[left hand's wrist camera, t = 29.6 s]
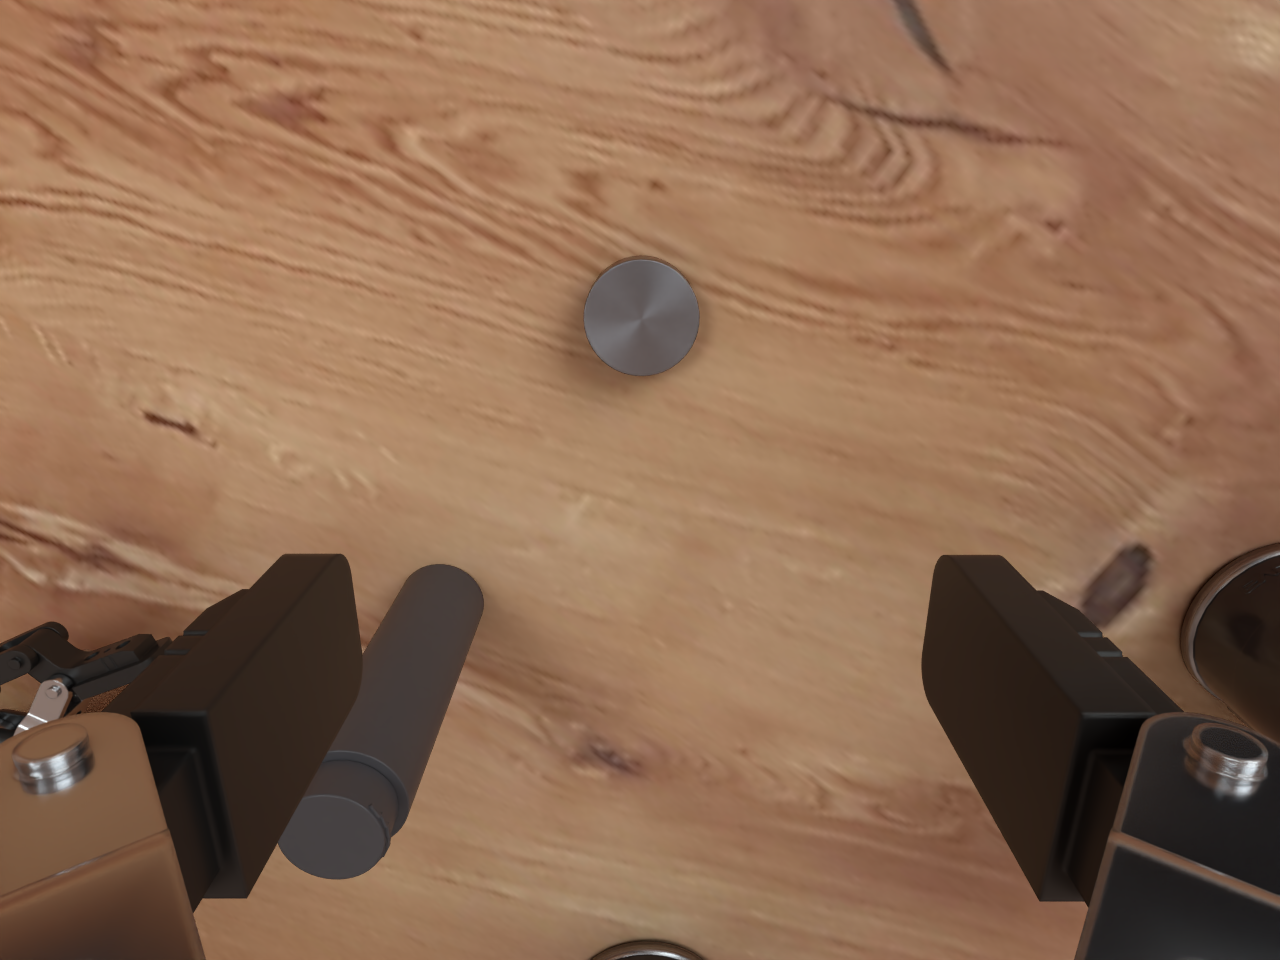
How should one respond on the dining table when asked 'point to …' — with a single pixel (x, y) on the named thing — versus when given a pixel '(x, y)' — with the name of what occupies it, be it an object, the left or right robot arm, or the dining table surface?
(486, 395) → the dining table surface
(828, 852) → the dining table surface
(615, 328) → the lid
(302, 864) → the cylindrical container
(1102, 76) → the dining table surface
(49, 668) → the right robot arm
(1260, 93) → the dining table surface
